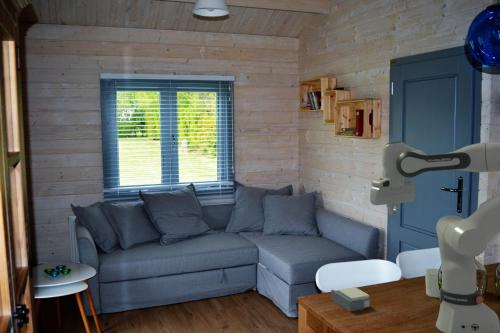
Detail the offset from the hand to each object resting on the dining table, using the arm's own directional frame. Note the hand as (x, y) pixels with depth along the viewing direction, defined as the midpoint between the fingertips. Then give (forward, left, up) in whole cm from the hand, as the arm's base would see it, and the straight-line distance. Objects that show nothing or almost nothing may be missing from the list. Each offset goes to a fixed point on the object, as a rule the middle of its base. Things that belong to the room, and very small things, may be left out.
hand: (392, 213), depth 204 cm
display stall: (+13, +19, -34) cm, 41 cm away
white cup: (-16, -6, -34) cm, 38 cm away
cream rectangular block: (+11, +18, -34) cm, 40 cm away
